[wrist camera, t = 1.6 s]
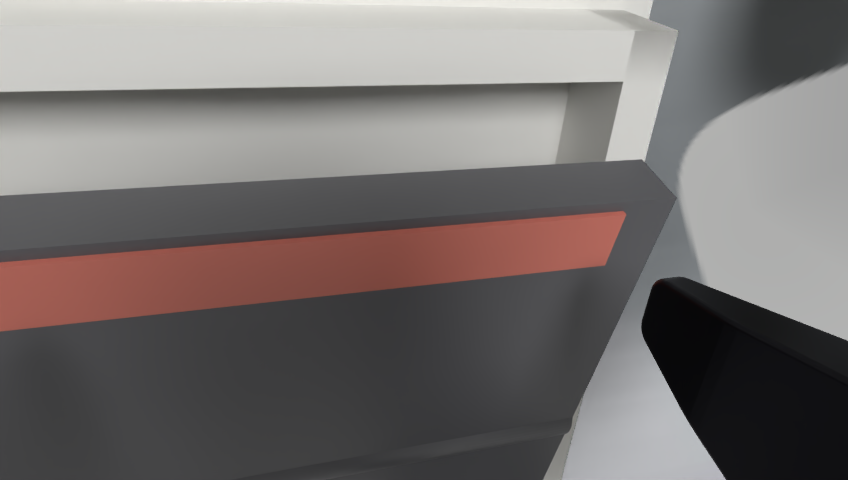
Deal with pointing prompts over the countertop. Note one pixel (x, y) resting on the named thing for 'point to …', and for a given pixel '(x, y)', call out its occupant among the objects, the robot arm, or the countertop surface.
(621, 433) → the countertop surface
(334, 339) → the panel
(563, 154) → the breaker box
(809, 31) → the countertop surface
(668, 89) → the countertop surface
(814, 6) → the countertop surface
